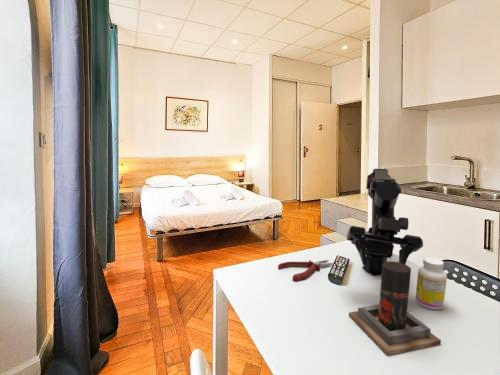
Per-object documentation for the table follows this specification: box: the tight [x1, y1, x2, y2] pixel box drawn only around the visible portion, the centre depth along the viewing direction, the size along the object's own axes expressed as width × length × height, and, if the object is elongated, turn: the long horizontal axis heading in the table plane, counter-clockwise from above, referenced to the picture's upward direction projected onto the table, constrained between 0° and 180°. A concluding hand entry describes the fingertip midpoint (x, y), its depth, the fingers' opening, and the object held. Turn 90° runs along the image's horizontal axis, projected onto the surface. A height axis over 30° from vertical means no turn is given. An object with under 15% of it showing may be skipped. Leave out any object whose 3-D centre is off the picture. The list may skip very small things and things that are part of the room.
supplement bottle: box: [415, 256, 448, 311], centre depth 76 cm, size 7×7×13 cm
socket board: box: [348, 304, 442, 357], centre depth 66 cm, size 14×14×3 cm
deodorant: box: [378, 260, 412, 331], centre depth 65 cm, size 6×6×15 cm
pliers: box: [277, 259, 334, 282], centre depth 98 cm, size 12×20×3 cm, turn 115°
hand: (382, 268), depth 74 cm, fingers open, 9 cm apart
